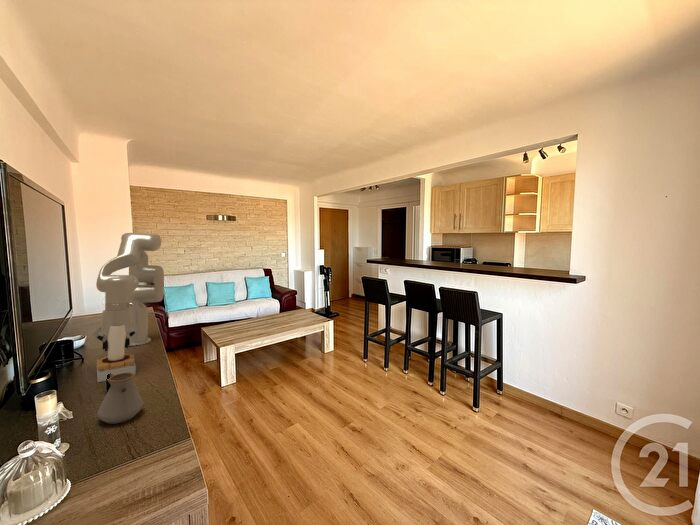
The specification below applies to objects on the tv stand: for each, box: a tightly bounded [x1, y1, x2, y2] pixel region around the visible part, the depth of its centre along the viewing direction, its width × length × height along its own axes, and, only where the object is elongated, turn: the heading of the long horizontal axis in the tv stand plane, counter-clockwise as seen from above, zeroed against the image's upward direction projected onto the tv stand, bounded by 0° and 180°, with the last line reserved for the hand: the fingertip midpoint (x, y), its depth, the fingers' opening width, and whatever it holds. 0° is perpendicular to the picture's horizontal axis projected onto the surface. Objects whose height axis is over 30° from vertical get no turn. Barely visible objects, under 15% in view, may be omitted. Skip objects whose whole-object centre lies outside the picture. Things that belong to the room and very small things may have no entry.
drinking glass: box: [107, 325, 126, 361], centre depth 122 cm, size 7×7×15 cm
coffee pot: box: [96, 373, 144, 425], centre depth 88 cm, size 21×12×15 cm, turn 40°
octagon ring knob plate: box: [96, 353, 137, 383], centre depth 123 cm, size 16×12×6 cm
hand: (116, 348), depth 123 cm, fingers closed on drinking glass, 6 cm apart
